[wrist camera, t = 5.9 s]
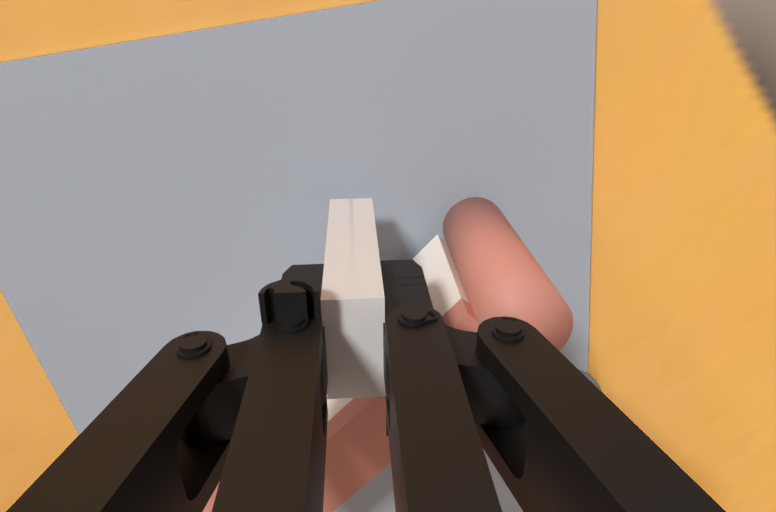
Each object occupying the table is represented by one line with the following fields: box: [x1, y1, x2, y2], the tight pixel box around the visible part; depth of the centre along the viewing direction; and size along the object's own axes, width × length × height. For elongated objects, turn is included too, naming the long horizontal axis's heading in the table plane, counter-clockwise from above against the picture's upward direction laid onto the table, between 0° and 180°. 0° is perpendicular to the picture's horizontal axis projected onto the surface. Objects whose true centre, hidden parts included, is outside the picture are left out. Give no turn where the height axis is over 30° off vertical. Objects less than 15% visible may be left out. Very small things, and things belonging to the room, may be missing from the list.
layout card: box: [0, 0, 601, 512], centre depth 24 cm, size 23×34×1 cm
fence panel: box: [323, 197, 573, 512], centre depth 17 cm, size 14×2×7 cm, turn 138°
